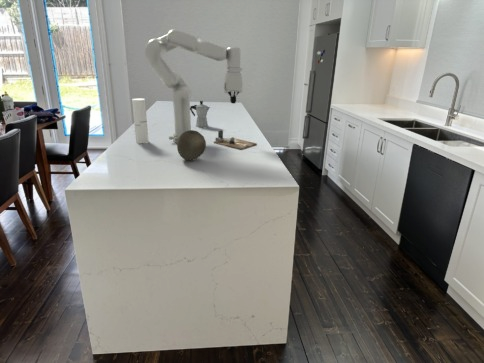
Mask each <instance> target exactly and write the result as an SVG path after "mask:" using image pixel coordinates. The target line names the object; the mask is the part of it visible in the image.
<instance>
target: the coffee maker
mask: <svg viewBox="0 0 484 363" xmlns="http://www.w3.org/2000/svg"><path fill="white" fill-rule="evenodd" d="M203 103H204V101H203V100H200V101H199V104H194V105H190V113H191V114H192V116H193V117H195V116H196V124H195V126H196V128H201V129H202V128H207V127H208V126H209V125H208V118H207V115H208V111H209V110H210V109H211V106H208V105H206V104H203ZM194 110H195V111H196V114H195V112H194Z"/></svg>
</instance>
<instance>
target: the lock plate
mask: <svg viewBox="0 0 484 363" xmlns="http://www.w3.org/2000/svg"><path fill="white" fill-rule="evenodd" d="M231 137H232V136H229V137H226V139H230V138H231ZM213 144H216V145H220V146H224V147H228V148H231V149H236V150H240V151H242V150H244V149H248V148H251V147H254V146H257V145H258V143H257V142H251V141H247V140H243V139H239V138H235V137H234V143H229V142H224V141H221V138H218V137H217V136H216V137H215V140H214V141H213Z"/></svg>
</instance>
